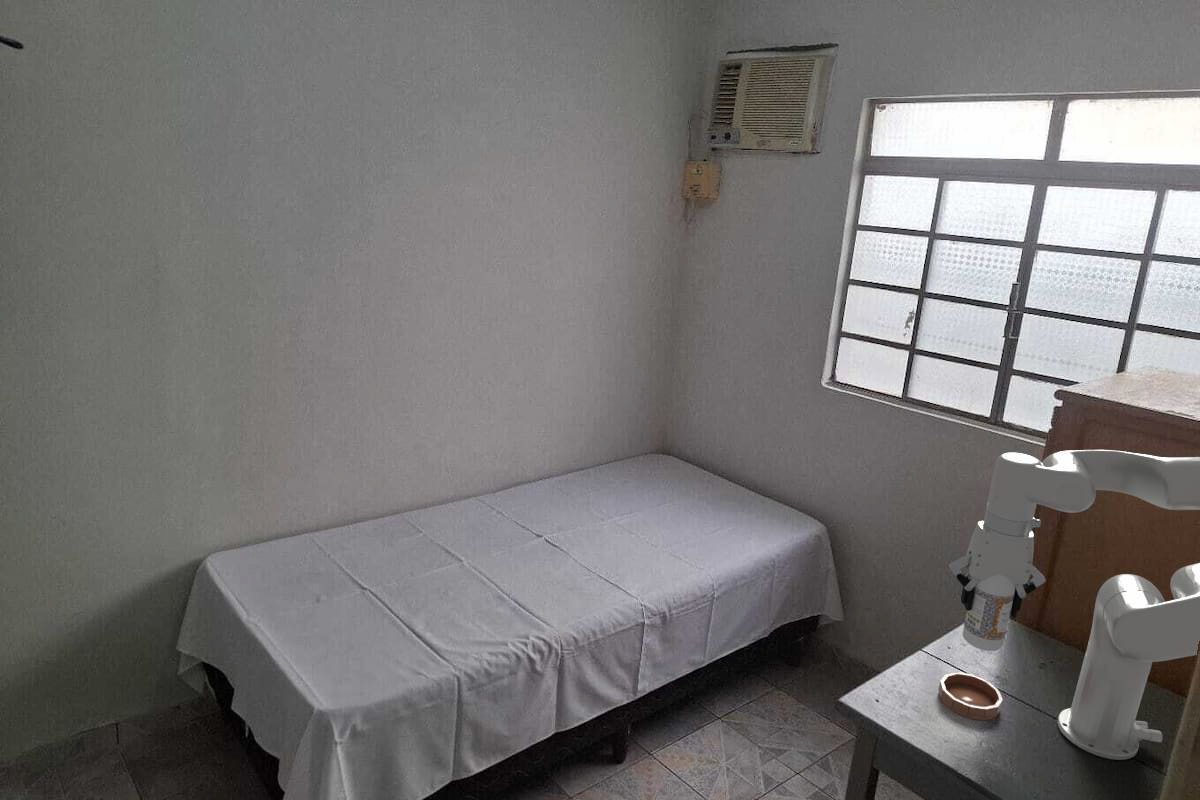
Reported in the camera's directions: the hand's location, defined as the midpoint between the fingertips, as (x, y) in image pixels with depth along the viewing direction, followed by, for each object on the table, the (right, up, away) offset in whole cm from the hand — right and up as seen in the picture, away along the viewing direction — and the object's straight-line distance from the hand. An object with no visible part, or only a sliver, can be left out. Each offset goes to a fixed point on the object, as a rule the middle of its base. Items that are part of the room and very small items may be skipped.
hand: (988, 609), depth 146 cm
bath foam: (0, -7, +2) cm, 7 cm away
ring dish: (-1, -19, +6) cm, 20 cm away
